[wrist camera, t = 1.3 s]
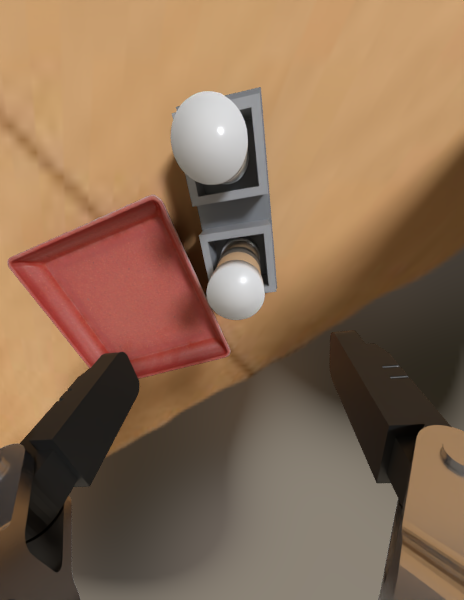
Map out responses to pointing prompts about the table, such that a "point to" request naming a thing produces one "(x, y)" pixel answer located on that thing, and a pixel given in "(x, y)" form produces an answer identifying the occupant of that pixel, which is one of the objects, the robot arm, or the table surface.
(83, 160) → the table surface
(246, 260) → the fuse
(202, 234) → the block
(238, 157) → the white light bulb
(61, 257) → the plant saucer
